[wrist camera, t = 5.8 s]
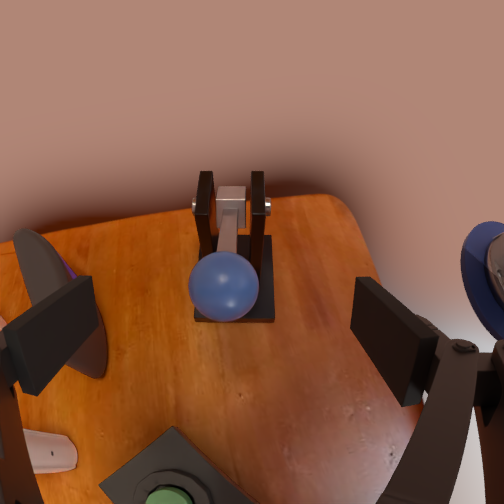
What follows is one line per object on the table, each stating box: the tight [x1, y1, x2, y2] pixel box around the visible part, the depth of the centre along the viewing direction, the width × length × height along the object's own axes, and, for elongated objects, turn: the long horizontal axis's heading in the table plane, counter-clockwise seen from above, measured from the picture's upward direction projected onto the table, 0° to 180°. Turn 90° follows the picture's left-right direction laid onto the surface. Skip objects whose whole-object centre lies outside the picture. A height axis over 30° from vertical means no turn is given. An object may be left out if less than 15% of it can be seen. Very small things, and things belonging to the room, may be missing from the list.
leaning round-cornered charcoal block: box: [13, 229, 107, 378], centre depth 28 cm, size 16×5×9 cm, turn 39°
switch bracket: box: [192, 171, 275, 322], centre depth 29 cm, size 10×8×14 cm
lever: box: [188, 186, 259, 322], centre depth 21 cm, size 13×4×4 cm, turn 1°
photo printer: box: [23, 429, 78, 474], centre depth 18 cm, size 10×4×12 cm, turn 110°
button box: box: [99, 426, 259, 504], centre depth 21 cm, size 11×10×4 cm
